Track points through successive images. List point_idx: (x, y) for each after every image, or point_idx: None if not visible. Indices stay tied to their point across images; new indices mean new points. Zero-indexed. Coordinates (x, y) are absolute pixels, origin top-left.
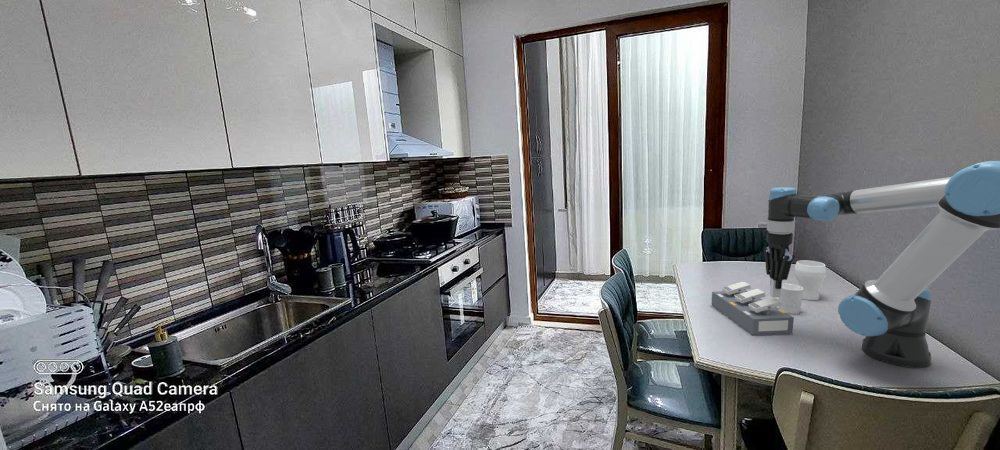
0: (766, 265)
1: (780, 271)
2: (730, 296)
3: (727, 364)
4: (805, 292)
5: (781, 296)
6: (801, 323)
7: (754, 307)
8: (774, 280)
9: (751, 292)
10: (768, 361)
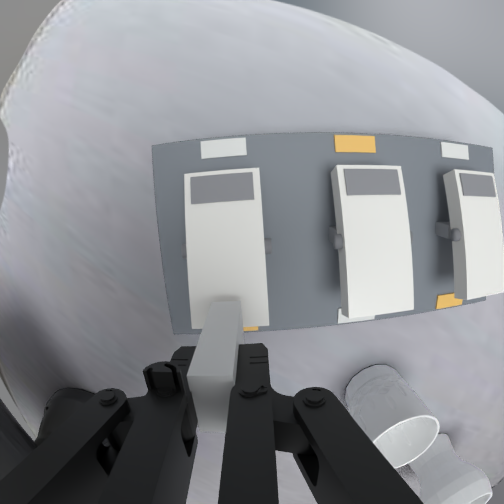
0: (366, 462)
1: (64, 452)
2: (445, 192)
3: (35, 39)
4: (428, 455)
5: (393, 396)
6: (270, 375)
7: (201, 175)
8: (188, 377)
9: (389, 258)
10: (28, 133)
